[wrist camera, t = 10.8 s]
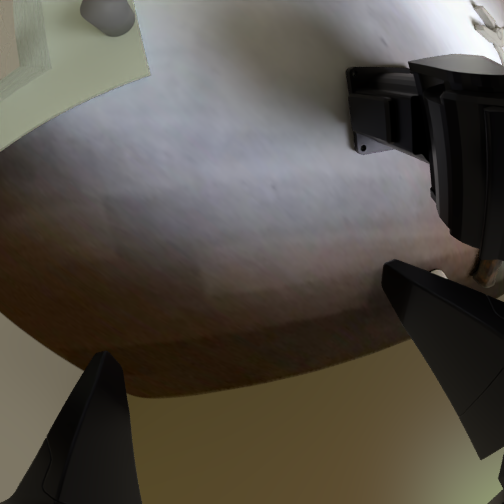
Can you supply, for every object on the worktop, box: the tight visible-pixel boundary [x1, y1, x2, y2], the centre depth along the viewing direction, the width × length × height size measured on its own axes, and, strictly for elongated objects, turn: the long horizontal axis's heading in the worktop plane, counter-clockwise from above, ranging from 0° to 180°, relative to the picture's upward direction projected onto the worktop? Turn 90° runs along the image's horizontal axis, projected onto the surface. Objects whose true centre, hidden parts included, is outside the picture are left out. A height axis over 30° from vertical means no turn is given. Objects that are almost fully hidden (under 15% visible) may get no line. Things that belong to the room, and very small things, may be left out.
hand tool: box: [472, 260, 502, 288], centre depth 27 cm, size 19×4×5 cm, turn 5°
